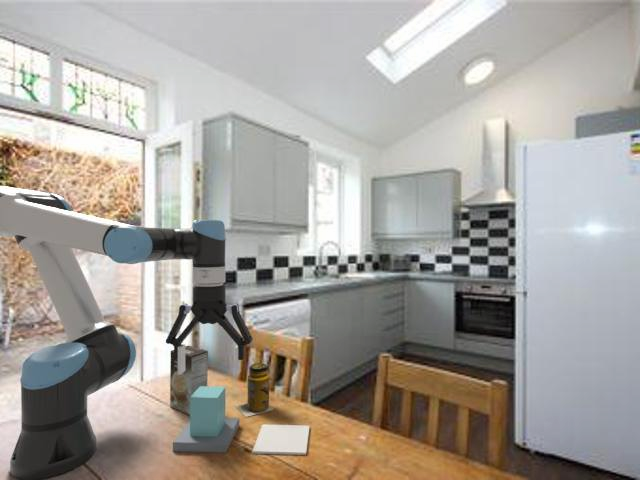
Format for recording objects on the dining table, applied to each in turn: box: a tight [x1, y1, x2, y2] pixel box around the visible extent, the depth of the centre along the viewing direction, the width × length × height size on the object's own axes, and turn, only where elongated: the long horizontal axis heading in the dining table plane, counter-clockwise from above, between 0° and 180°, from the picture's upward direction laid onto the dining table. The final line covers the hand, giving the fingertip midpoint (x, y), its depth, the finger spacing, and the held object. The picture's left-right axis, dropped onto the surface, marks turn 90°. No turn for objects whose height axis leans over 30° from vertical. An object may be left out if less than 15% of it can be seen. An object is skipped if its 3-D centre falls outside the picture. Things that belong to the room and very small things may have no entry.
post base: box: [172, 417, 240, 454], centre depth 90 cm, size 12×12×9 cm
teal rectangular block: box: [189, 385, 226, 437], centre depth 90 cm, size 6×6×9 cm
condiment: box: [236, 362, 275, 418], centre depth 105 cm, size 7×8×12 cm
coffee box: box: [169, 344, 209, 415], centre depth 106 cm, size 9×6×16 cm
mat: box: [251, 423, 311, 456], centre depth 89 cm, size 12×12×1 cm
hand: (209, 373), depth 90 cm, fingers open, 13 cm apart
